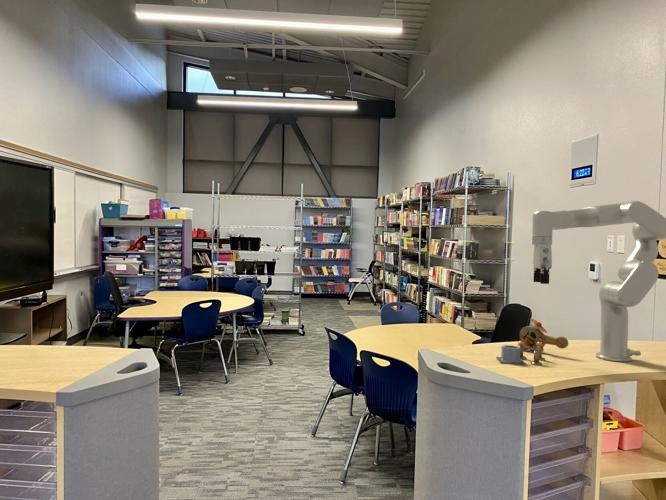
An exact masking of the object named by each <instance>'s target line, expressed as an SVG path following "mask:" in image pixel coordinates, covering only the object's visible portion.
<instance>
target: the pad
mask: <svg viewBox="0 0 666 500" xmlns="http://www.w3.org/2000/svg"><path fill="white" fill-rule="evenodd" d="M495 359H496V360H497V361H498V363H500V364H502V365H518V366H519V365H520V366H521V365H522V366H526V365H527V363H526V362H525V361H524V359H520V361H518V362H510V361H505V360H502V359H501V356H496V357H495Z"/></svg>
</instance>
